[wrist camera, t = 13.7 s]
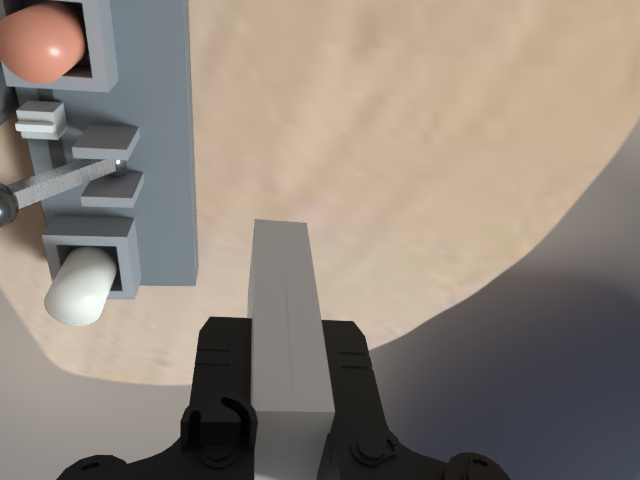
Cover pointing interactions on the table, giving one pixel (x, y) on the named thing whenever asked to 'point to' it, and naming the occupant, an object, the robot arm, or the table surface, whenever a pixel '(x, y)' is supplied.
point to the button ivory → (81, 287)
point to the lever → (54, 184)
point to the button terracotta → (43, 41)
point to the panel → (124, 143)
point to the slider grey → (41, 120)
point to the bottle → (7, 98)
